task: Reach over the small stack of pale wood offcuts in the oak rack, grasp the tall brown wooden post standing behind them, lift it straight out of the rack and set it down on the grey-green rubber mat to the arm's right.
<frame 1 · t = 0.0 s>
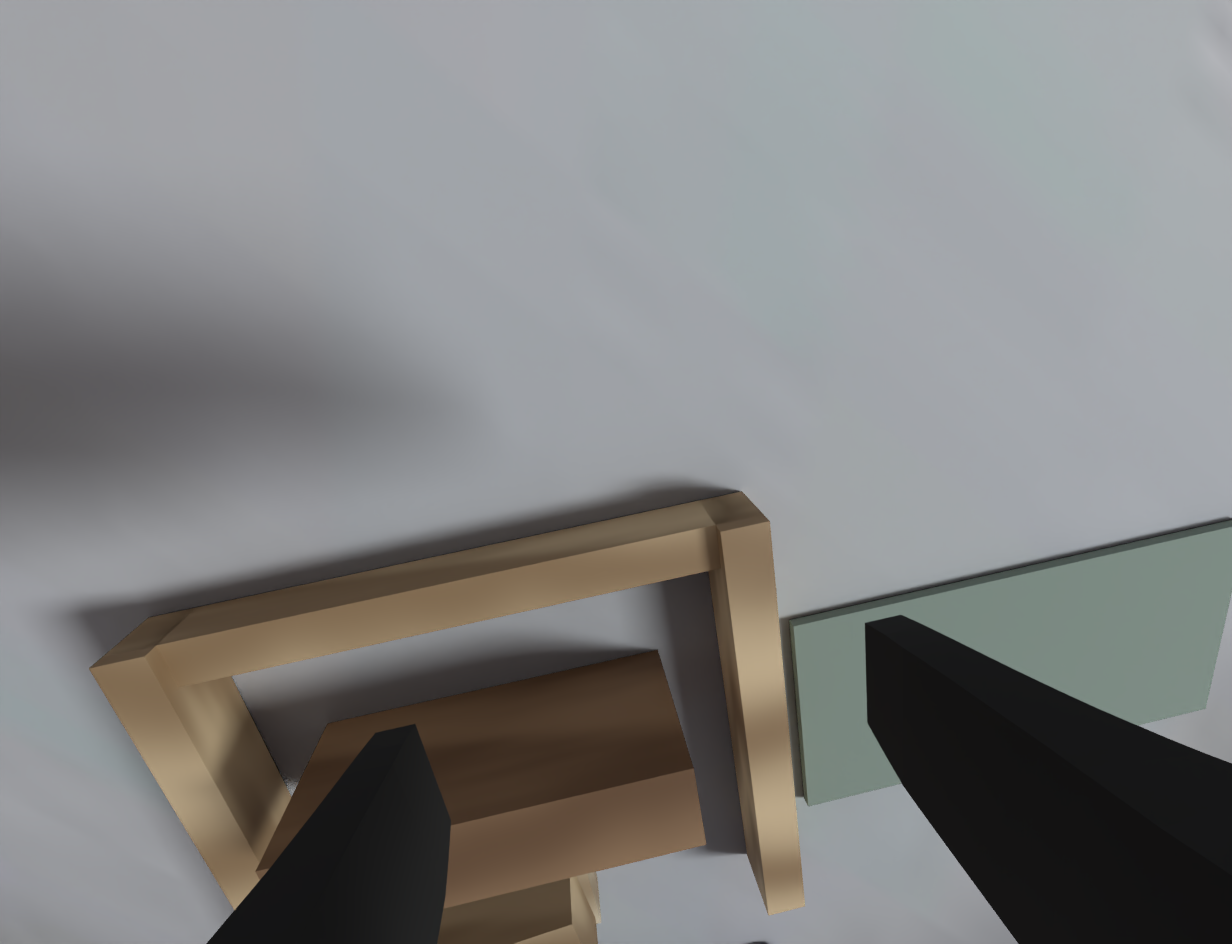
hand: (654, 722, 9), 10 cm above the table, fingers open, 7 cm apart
offcut low: (477, 867, 24), on the table
tall brown wooden post: (505, 715, 21), on the table
offcut top: (482, 923, 22), point 2 cm above the table
rubber mat: (1010, 664, 23), on the table
oak rack: (514, 750, 21), on the table
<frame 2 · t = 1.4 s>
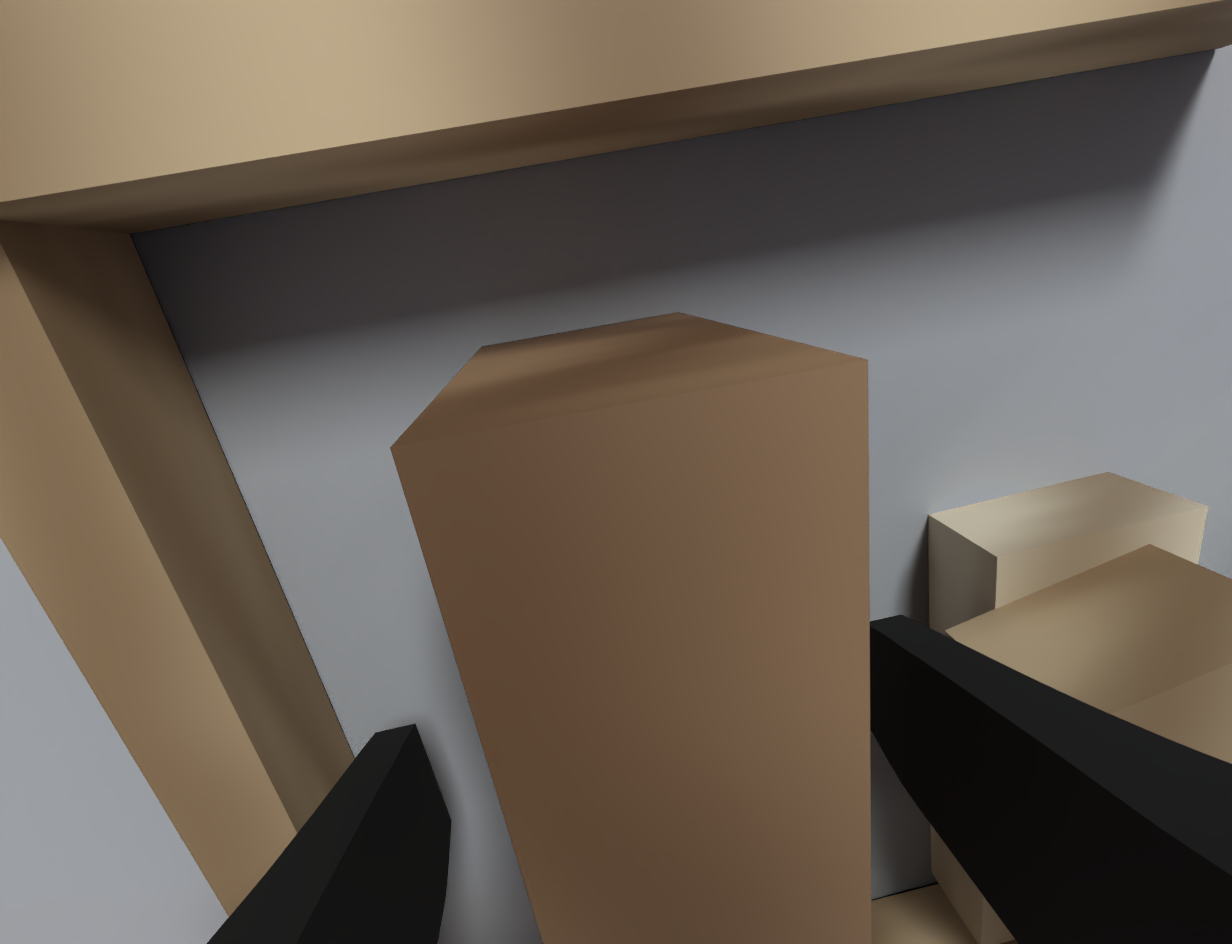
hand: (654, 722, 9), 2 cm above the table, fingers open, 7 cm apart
offcut low: (989, 680, 12), on the table, touching offcut top
tall brown wooden post: (637, 651, 11), on the table
offcut top: (1072, 758, 10), point 2 cm above the table, touching offcut low
oak rack: (717, 640, 11), on the table
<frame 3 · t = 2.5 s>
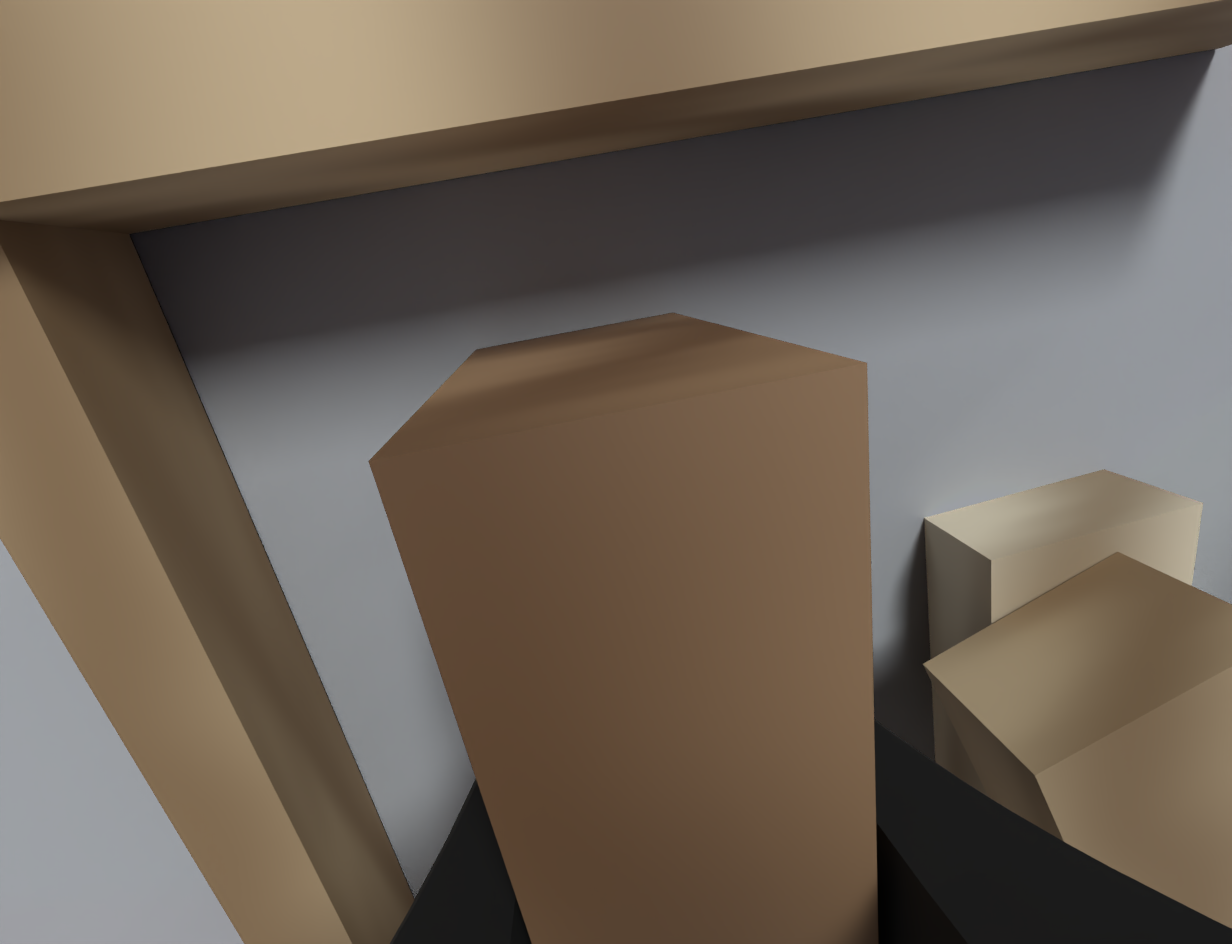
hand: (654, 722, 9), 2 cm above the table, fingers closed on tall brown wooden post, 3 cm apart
offcut low: (993, 679, 12), on the table, touching offcut top
tall brown wooden post: (637, 657, 11), on the table, touching gripper
offcut top: (1079, 762, 10), point 2 cm above the table, touching offcut low
oak rack: (717, 640, 11), on the table
when the fingers open (3 cm above the table, at t = 7.1 s): tall brown wooden post stays where it is, resting on rubber mat.
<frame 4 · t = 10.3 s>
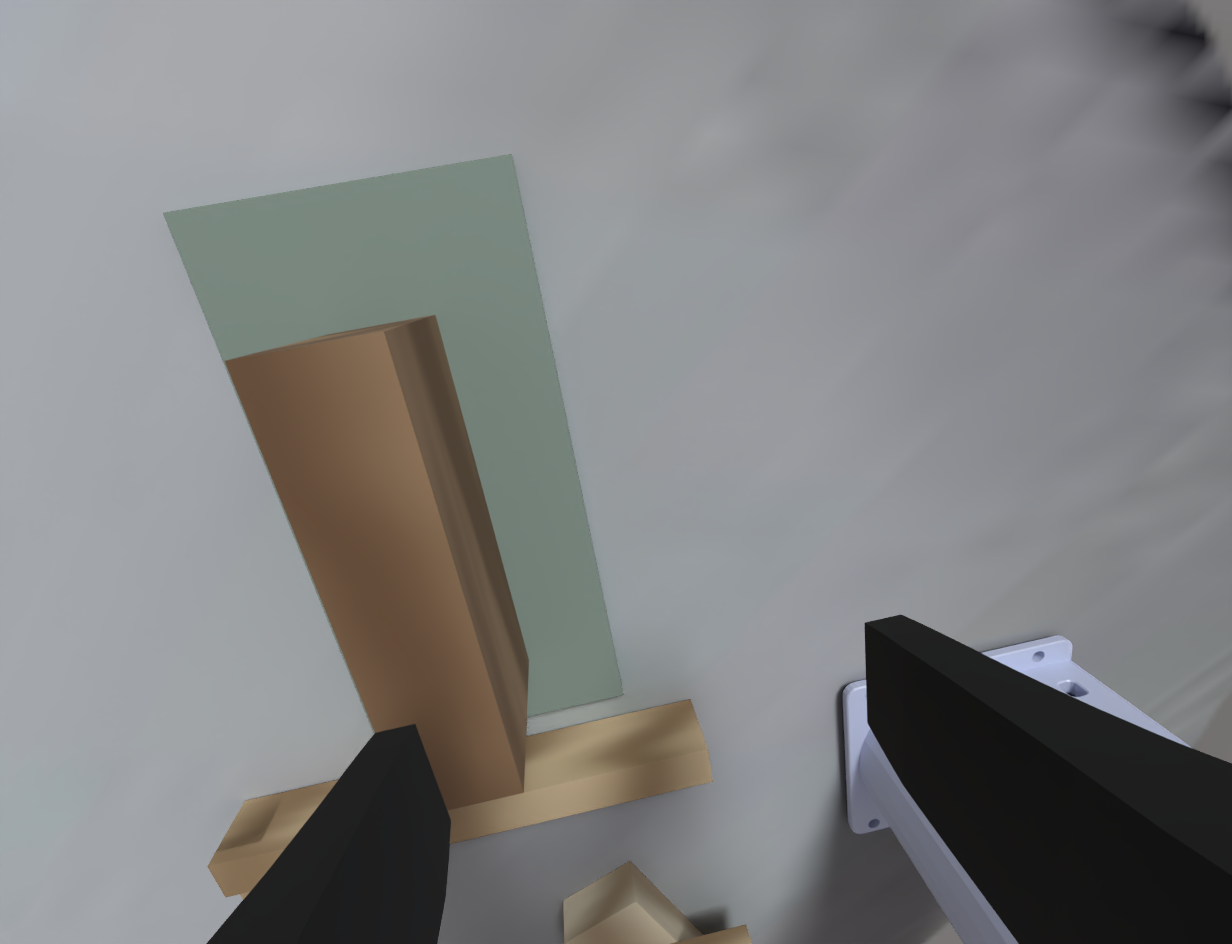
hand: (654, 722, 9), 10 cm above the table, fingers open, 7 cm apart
offcut low: (651, 923, 27), on the table, touching offcut top
tall brown wooden post: (440, 516, 18), resting on rubber mat
rubber mat: (438, 494, 18), on the table
oak rack: (529, 918, 25), on the table
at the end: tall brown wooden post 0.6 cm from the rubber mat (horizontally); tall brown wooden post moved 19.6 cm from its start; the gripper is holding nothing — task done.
